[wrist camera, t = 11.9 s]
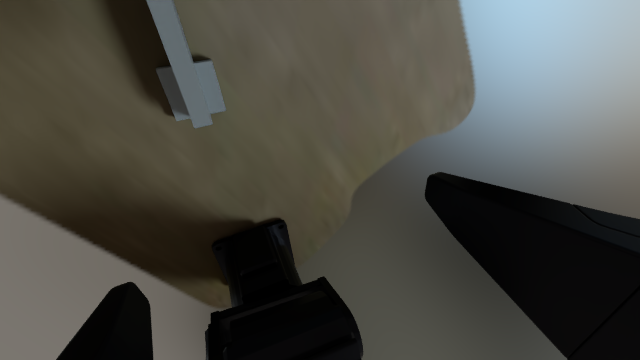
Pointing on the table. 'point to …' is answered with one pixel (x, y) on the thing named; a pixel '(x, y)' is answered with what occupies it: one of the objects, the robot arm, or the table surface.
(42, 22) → the table surface
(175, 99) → the grey bar
